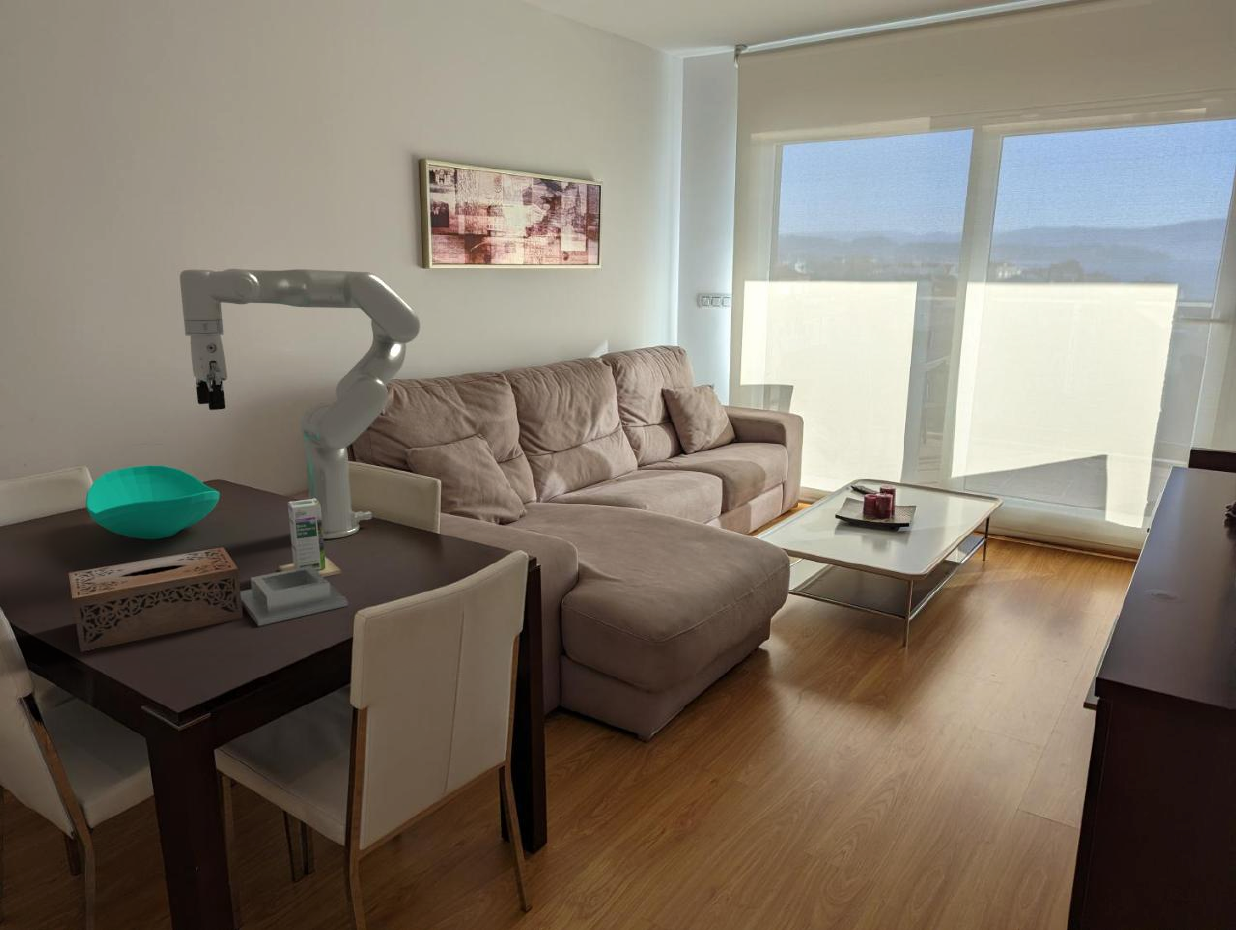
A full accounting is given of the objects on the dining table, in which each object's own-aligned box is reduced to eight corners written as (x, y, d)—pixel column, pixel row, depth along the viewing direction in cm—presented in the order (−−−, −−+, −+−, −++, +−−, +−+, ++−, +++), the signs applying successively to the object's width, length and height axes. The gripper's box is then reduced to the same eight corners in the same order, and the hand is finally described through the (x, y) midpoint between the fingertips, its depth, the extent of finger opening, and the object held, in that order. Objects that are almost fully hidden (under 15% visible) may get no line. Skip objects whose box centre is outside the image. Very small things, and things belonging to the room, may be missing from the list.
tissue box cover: (228, 594, 170) (223, 547, 168) (243, 619, 159) (237, 568, 156) (76, 624, 156) (68, 572, 154) (80, 653, 145) (72, 598, 142)
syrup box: (297, 573, 179) (292, 507, 176) (292, 565, 184) (287, 500, 181) (326, 569, 182) (320, 503, 178) (320, 561, 187) (315, 497, 183)
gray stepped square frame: (321, 580, 177) (319, 560, 176) (347, 605, 165) (346, 583, 163) (237, 598, 168) (234, 576, 167) (258, 626, 155) (256, 603, 154)
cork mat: (326, 560, 189) (325, 557, 189) (341, 573, 182) (340, 569, 181) (279, 569, 184) (279, 566, 184) (292, 583, 176) (292, 579, 176)
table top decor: (245, 542, 201) (240, 488, 198) (112, 569, 184) (104, 509, 180) (195, 506, 230) (190, 458, 227) (76, 526, 213) (68, 475, 210)
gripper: (233, 330, 180) (240, 410, 184) (212, 325, 194) (219, 400, 198) (195, 331, 176) (203, 413, 180) (175, 326, 189) (183, 402, 193)
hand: (211, 406), depth 189 cm, fingers open, 9 cm apart
